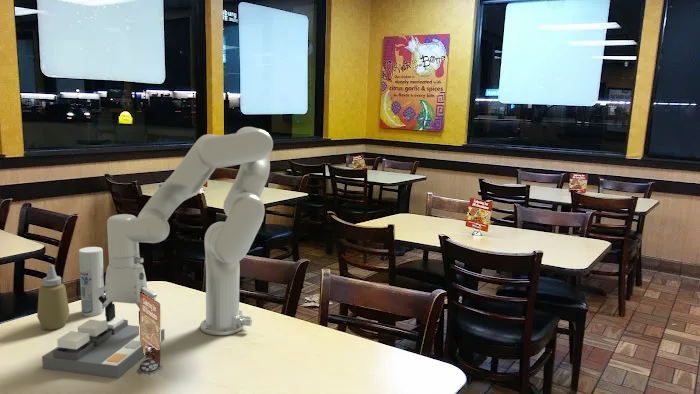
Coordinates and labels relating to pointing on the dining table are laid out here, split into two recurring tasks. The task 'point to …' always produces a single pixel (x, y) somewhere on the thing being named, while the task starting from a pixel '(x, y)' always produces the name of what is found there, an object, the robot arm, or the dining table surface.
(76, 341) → the switch
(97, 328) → the switch
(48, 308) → the squeeze bottle
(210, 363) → the dining table surface
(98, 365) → the switch box
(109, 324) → the switch
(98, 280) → the spray can
